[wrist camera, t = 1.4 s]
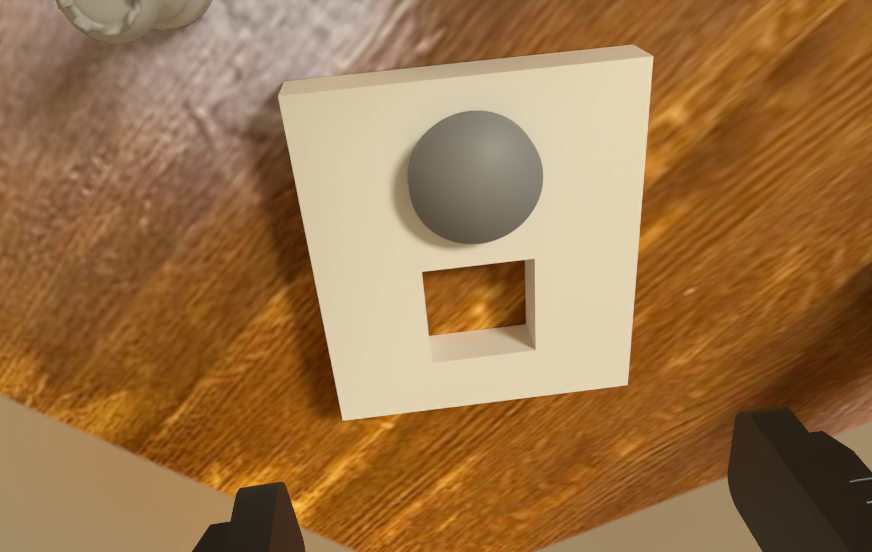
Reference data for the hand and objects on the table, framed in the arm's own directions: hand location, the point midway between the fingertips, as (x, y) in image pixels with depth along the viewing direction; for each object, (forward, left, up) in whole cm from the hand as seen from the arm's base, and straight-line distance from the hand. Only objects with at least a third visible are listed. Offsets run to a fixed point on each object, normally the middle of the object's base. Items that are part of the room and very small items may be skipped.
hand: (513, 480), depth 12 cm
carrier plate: (+7, +2, -23) cm, 24 cm away
